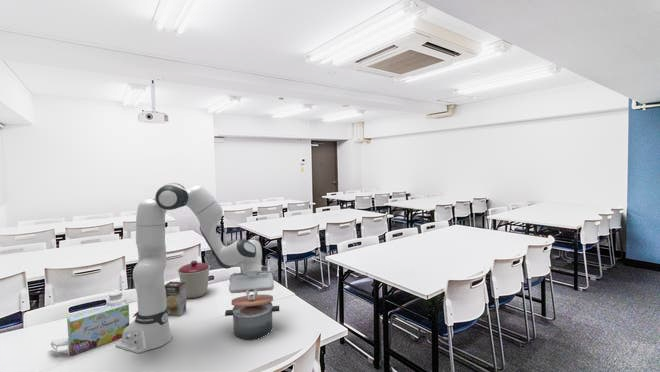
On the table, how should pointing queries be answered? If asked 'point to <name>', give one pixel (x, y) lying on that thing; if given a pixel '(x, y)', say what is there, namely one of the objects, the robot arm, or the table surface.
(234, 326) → the cooker pot
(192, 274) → the canister
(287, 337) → the table surface
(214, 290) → the table surface
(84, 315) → the snack box
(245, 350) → the table surface
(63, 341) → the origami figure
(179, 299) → the coffee box
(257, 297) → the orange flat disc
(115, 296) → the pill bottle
